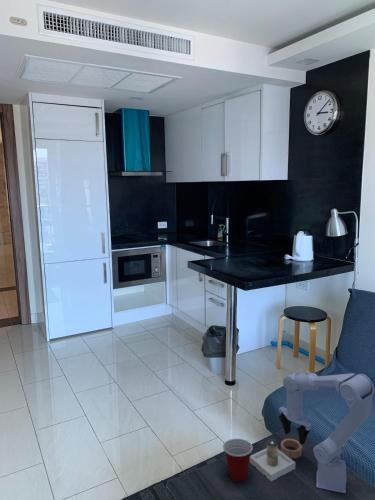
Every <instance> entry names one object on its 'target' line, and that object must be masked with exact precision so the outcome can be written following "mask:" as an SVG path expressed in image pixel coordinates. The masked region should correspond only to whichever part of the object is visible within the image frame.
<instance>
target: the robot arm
mask: <svg viewBox="0 0 375 500" xmlns="http://www.w3.org/2000/svg"><path fill="white" fill-rule="evenodd" d="M282 383H283V387H284V389H285V390H286V407H285V406H281V407H279V408H278V409H279V410H278V413H280V414H279V416H278V419H279V420H280V422H281V425H282V428H283V430H284V434H285V435H288V434H290V433H291V426H292V423H295V424H298V425H300V426H298V427H296V431H297V433H298V438H299V439H298V441H299V442H300V444H301V445H302V446H303V445H305V444H306V440H307V437H308V435H309V433H310V431H311V430H312V423H311V422H309V421H308V420H307V418H306V417H305V415H304V412H303V411H304V410H303V392H304V391H317V390H319V388H320V387H321V388H334V389H335V390H336V392H337V394H339V395H341V397H342V399H343V400H344V402H345V404H346V405H347V407H348V409H349V411H348V413H347V414H346V415H345V416H344V418H343V419H342V420H341V422H339V423H338V424H337V426H336V428H334V430H333V431H332V432H331V433H330V435H329V436H328V437H327V438H326V439H325V440H323V441H322V442H320V443H318V444H316V445H314V447H313V451H312V452H313V455H314V457H315V459H316V461H317V471H316V485H315V486H316V488H318V489H323V490H327V491H333V492H335V493H337V492H338V493H342V494H346V493H347V490H346V489H347V480H348V479H347V466H346V465H347V464H346V460H344V459H341V454H343V453H344V450H345V446H346V445H347V441H348V440H349V439H351V437H352V436H353V435H354V434H355V433H356V431H357V430H358V429H359V428H360V427H361V426H362V425H363V424H364V422H365V421H367V419H368V418H369V417H370V416H371V414H372V409H373V396H374V394H375V387H374V385H373V382H372V380H371V379H370V377H368V376H367V375H366V374H364V373H357V374H356V373H342V374H332V375H331V374H330V375H318V374H317V373H315V372H311V371H310V370H309V371H306V372H304V373H300V372H296V371H295V372H292V373H291V374H289V375H287V376H285V377H284V378H283V380H282Z"/></svg>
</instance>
